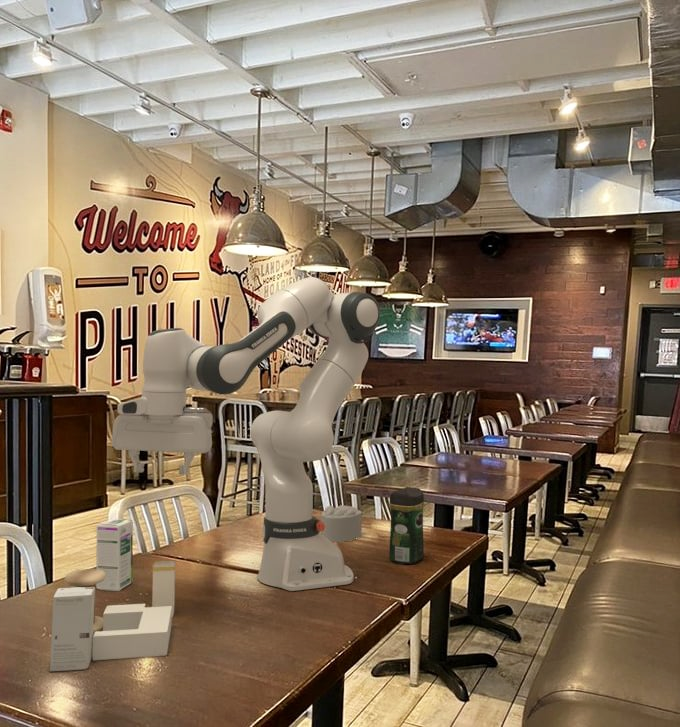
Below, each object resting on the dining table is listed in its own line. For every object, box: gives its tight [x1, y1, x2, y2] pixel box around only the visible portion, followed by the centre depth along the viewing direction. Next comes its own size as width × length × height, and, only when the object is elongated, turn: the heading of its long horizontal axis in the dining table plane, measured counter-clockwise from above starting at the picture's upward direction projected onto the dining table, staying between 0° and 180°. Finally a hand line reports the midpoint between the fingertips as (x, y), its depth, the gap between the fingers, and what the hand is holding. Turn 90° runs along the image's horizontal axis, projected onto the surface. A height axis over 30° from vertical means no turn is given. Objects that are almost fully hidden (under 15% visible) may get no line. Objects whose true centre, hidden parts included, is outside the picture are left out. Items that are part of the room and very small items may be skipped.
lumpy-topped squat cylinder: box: [320, 504, 363, 543], centre depth 187 cm, size 10×13×9 cm
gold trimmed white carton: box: [151, 559, 177, 618], centre depth 127 cm, size 4×4×10 cm
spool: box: [64, 568, 105, 635], centre depth 120 cm, size 7×7×10 cm
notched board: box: [92, 603, 173, 661], centre depth 115 cm, size 12×14×4 cm
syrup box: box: [95, 518, 134, 592], centre depth 143 cm, size 6×6×14 cm
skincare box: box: [49, 586, 96, 672], centre depth 105 cm, size 6×4×12 cm
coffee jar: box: [388, 486, 425, 565], centre depth 166 cm, size 10×8×19 cm
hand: (161, 473), depth 131 cm, fingers open, 8 cm apart
